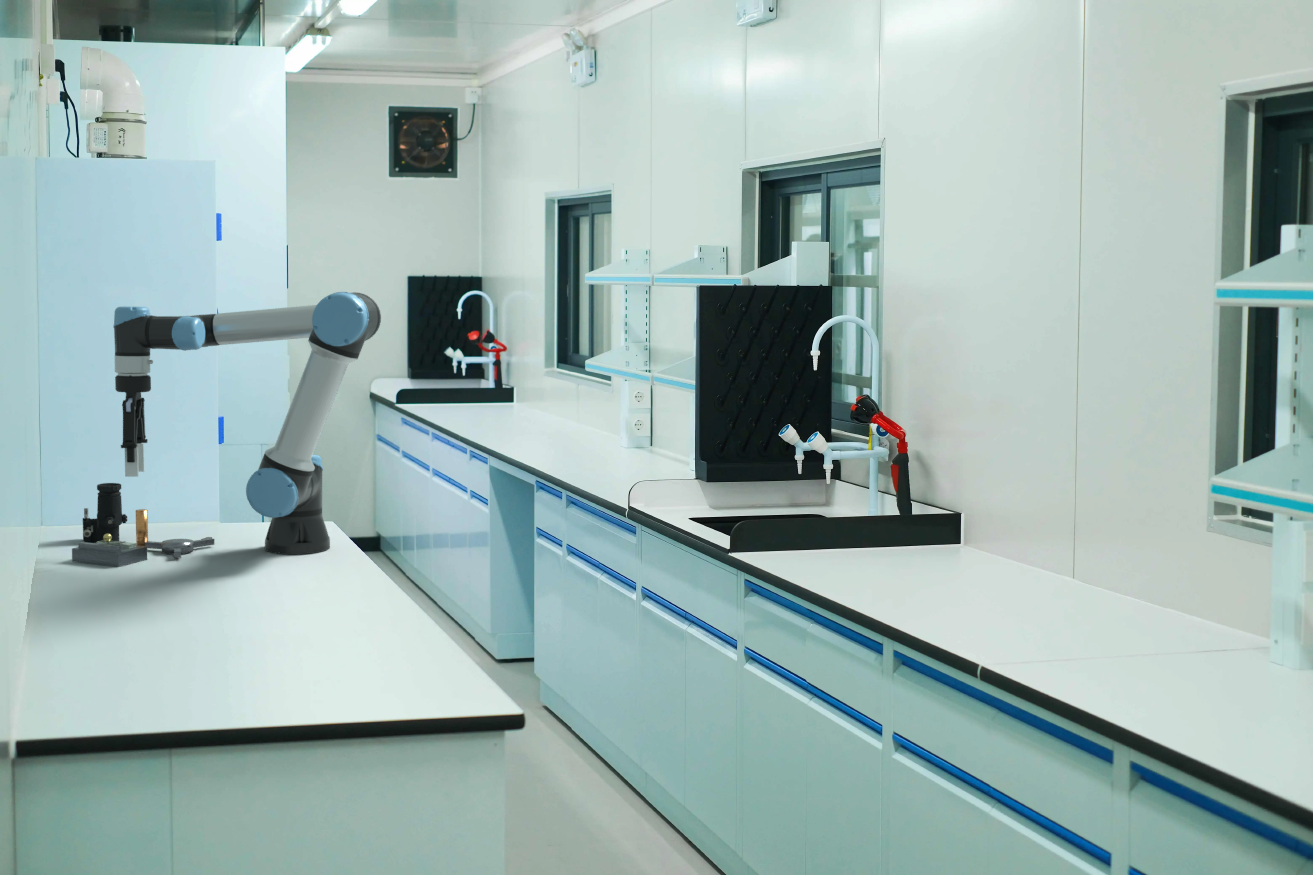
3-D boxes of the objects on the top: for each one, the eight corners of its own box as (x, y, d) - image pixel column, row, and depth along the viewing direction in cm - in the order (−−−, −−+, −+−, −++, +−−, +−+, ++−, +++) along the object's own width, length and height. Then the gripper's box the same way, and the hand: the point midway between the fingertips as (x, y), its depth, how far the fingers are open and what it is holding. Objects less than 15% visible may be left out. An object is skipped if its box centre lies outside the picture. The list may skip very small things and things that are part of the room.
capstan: (215, 545, 308) (215, 507, 307) (179, 559, 292) (178, 519, 291) (156, 541, 310) (155, 504, 309) (116, 555, 294) (116, 515, 293)
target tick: (205, 543, 311) (205, 539, 311) (201, 543, 312) (201, 539, 311) (212, 541, 314) (212, 537, 314) (207, 540, 314) (207, 536, 314)
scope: (81, 482, 311) (125, 481, 316) (82, 538, 313) (126, 536, 317) (81, 487, 304) (127, 486, 308) (83, 545, 306) (128, 542, 310)
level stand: (147, 559, 292) (146, 535, 291) (118, 567, 283) (118, 542, 283) (101, 554, 296) (101, 530, 296) (72, 561, 288) (71, 537, 287)
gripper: (142, 377, 282) (144, 480, 285) (157, 371, 302) (159, 467, 305) (106, 377, 281) (108, 480, 283) (123, 371, 300) (125, 467, 303)
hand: (135, 473), depth 294 cm, fingers open, 7 cm apart
